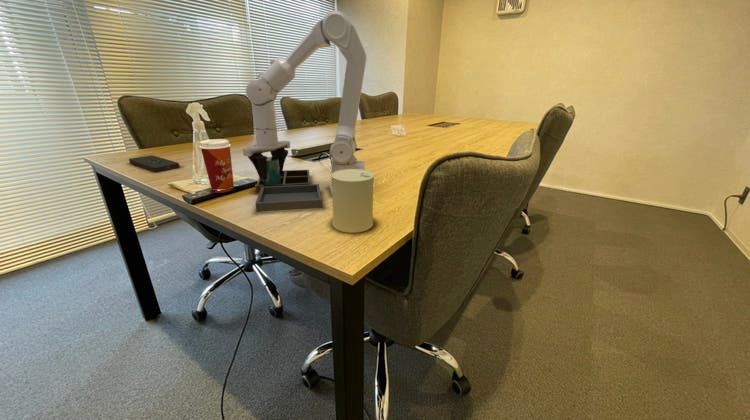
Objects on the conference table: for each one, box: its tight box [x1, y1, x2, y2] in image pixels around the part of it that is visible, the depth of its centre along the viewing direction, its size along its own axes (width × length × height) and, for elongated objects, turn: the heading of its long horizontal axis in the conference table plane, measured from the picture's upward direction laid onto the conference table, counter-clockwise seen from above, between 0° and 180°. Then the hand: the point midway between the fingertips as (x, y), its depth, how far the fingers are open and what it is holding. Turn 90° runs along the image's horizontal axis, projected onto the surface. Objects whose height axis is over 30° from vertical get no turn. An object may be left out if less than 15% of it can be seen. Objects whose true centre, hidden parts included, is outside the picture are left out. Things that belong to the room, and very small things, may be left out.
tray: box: [255, 183, 323, 213], centre depth 79 cm, size 16×13×2 cm
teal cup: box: [262, 156, 281, 185], centre depth 87 cm, size 5×5×8 cm
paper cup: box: [198, 138, 235, 194], centre depth 84 cm, size 8×8×14 cm
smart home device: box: [128, 154, 181, 173], centre depth 109 cm, size 8×2×20 cm
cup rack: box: [255, 169, 311, 194], centre depth 92 cm, size 15×15×2 cm
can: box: [330, 169, 375, 234], centre depth 66 cm, size 9×9×12 cm
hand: (271, 176), depth 88 cm, fingers closed on teal cup, 5 cm apart
